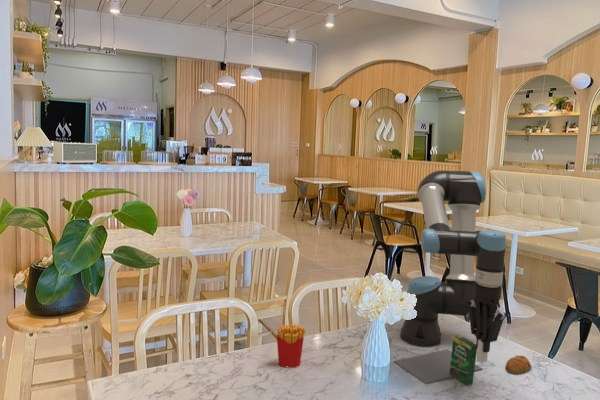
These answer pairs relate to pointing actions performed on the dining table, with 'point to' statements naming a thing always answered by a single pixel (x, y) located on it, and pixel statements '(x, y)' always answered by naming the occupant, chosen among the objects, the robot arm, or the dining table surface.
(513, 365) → the pastry
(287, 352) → the french fries
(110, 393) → the dining table surface
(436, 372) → the slate mat
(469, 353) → the coffee box
